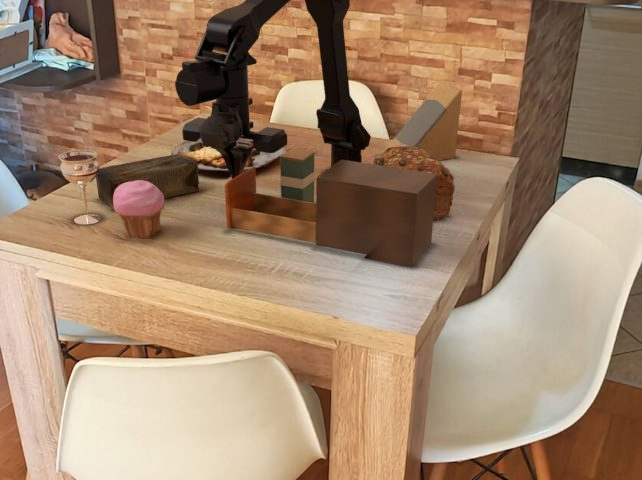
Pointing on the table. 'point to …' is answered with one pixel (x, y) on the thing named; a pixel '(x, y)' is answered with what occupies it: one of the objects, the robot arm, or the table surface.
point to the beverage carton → (150, 176)
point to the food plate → (214, 160)
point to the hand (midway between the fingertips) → (236, 181)
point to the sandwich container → (434, 123)
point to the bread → (425, 163)
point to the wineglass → (81, 176)
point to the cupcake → (139, 207)
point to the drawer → (267, 210)
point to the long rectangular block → (297, 175)
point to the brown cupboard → (375, 211)
